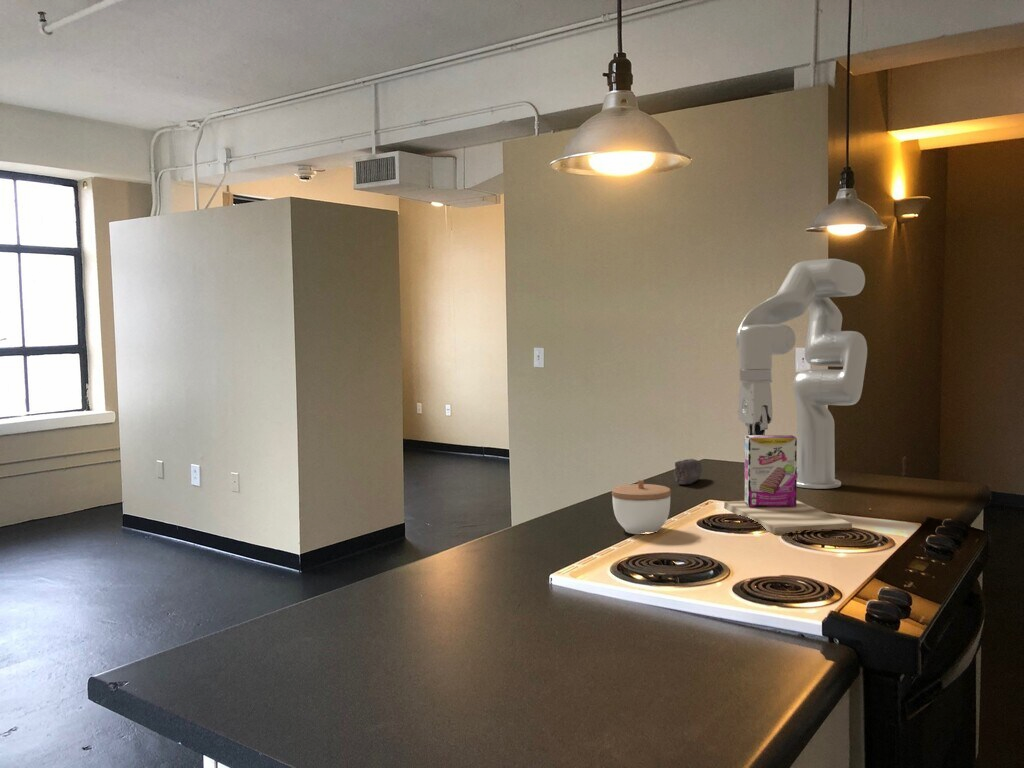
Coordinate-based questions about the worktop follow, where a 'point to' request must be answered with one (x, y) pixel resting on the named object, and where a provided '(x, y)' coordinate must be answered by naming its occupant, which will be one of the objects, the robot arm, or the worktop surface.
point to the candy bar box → (770, 470)
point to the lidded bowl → (641, 506)
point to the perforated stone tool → (687, 471)
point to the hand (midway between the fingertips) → (756, 452)
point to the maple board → (788, 517)
